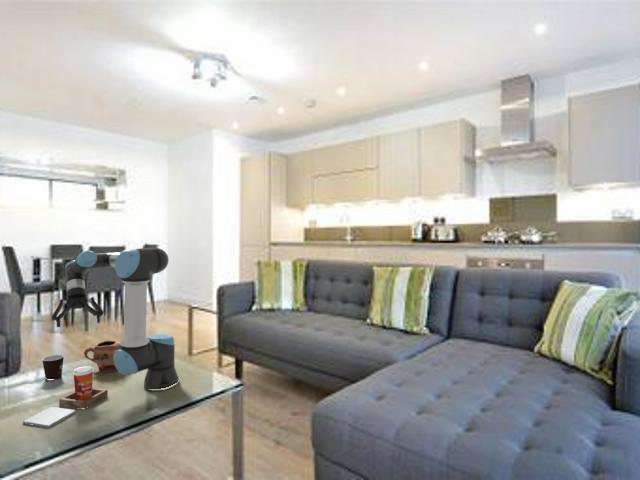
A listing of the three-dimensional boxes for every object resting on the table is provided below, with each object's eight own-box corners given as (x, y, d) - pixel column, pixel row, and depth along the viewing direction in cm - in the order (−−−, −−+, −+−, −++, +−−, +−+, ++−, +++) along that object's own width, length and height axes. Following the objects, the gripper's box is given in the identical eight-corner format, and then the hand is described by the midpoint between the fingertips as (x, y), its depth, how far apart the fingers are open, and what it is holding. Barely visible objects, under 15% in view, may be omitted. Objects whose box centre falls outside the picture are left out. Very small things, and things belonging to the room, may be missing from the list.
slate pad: (76, 412, 157) (76, 410, 157) (48, 428, 145) (48, 425, 145) (51, 409, 159) (51, 406, 159) (23, 423, 148) (23, 421, 148)
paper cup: (79, 407, 161) (78, 373, 161) (69, 402, 165) (68, 369, 165) (98, 399, 168) (97, 367, 167) (88, 395, 172) (88, 364, 171)
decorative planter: (80, 376, 193) (79, 348, 192) (87, 367, 205) (86, 340, 204) (124, 372, 199) (124, 344, 198) (129, 363, 211) (128, 337, 210)
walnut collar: (107, 396, 171) (107, 389, 171) (84, 409, 159) (84, 402, 159) (83, 393, 174) (83, 386, 174) (59, 406, 162) (59, 399, 162)
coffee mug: (53, 382, 185) (53, 361, 185) (38, 380, 187) (37, 360, 187) (73, 373, 197) (73, 353, 196) (59, 371, 199) (58, 352, 198)
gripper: (104, 292, 197) (109, 331, 187) (43, 296, 182) (45, 338, 171) (106, 284, 192) (111, 323, 182) (44, 288, 177) (46, 330, 167)
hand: (79, 331), depth 177 cm, fingers open, 13 cm apart
